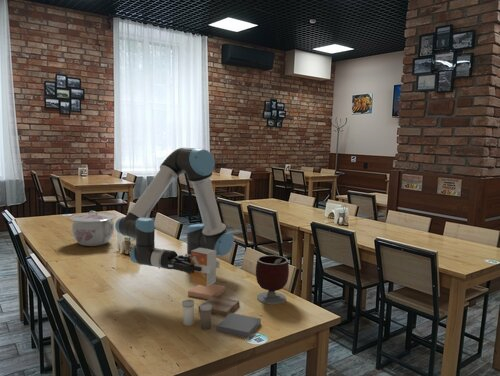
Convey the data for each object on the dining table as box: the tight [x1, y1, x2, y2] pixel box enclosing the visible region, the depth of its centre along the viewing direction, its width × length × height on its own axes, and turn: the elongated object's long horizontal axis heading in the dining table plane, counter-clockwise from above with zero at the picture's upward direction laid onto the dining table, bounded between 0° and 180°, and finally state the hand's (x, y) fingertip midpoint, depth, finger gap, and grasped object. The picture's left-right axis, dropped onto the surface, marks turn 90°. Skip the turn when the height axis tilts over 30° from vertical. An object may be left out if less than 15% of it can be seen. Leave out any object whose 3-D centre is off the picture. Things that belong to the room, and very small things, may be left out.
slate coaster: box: [216, 312, 262, 339], centre depth 151 cm, size 12×12×2 cm
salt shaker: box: [181, 299, 195, 327], centre depth 153 cm, size 4×4×8 cm
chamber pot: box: [68, 210, 118, 247], centre depth 257 cm, size 28×28×21 cm
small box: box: [189, 248, 217, 287], centre depth 164 cm, size 8×6×13 cm
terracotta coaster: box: [187, 283, 226, 300], centre depth 183 cm, size 12×12×2 cm
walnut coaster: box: [198, 296, 240, 318], centre depth 167 cm, size 12×12×2 cm
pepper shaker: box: [199, 302, 212, 331], centre depth 150 cm, size 4×4×8 cm
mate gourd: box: [255, 254, 290, 305], centre depth 177 cm, size 16×14×20 cm
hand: (214, 267), depth 162 cm, fingers closed on small box, 7 cm apart
